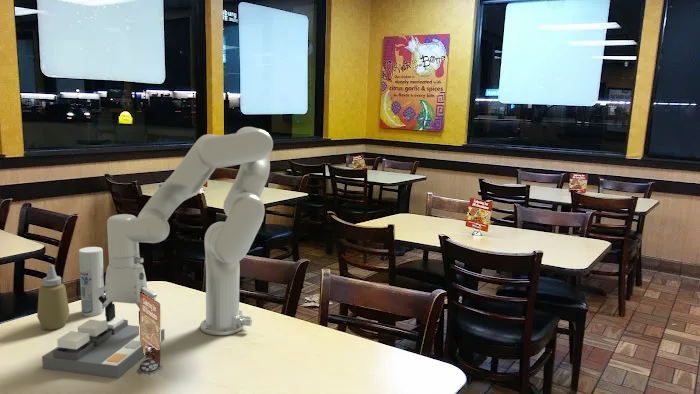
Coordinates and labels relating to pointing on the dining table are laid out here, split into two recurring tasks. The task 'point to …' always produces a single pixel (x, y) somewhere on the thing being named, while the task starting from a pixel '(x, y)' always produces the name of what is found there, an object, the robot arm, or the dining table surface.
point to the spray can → (91, 279)
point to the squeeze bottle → (52, 302)
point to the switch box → (101, 353)
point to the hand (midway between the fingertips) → (127, 321)
